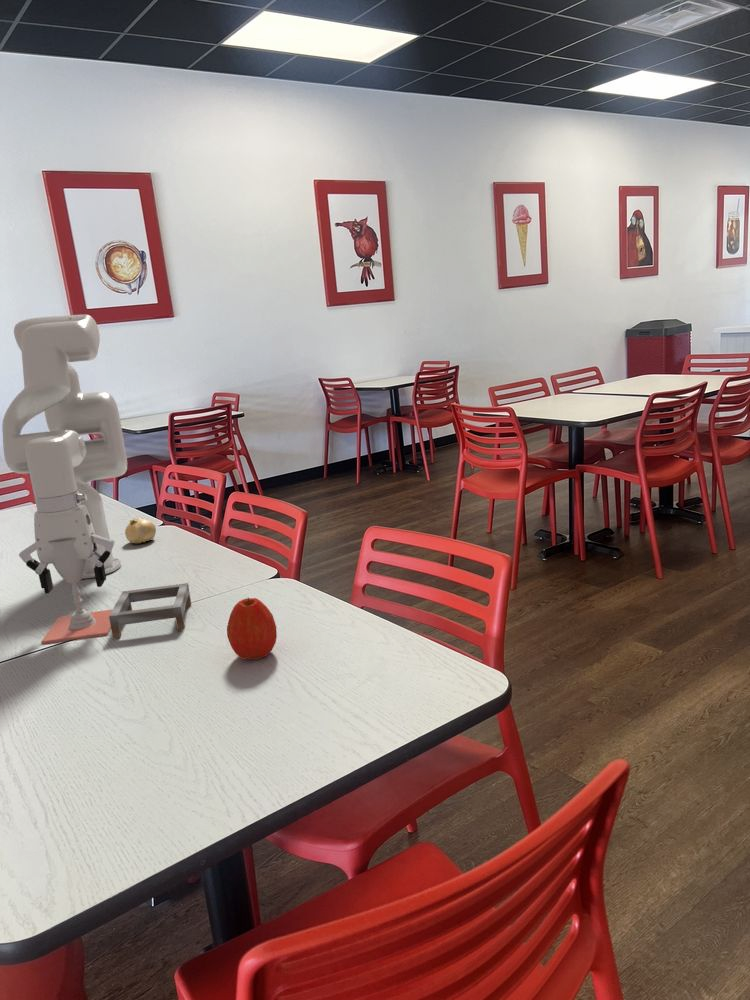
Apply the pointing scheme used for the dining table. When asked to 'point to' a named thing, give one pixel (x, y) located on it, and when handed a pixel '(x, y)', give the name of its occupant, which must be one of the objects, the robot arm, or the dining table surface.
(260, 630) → the apple
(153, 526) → the onion
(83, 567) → the chalice
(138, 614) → the ring stand
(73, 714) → the dining table surface
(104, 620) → the coaster
